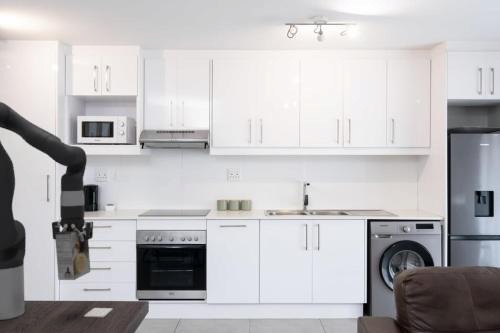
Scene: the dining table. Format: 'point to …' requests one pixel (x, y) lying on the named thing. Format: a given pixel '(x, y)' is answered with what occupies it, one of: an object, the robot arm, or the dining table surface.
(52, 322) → the dining table surface
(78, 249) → the coffee box
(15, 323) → the dining table surface
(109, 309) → the coaster
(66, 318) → the dining table surface
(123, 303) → the dining table surface
